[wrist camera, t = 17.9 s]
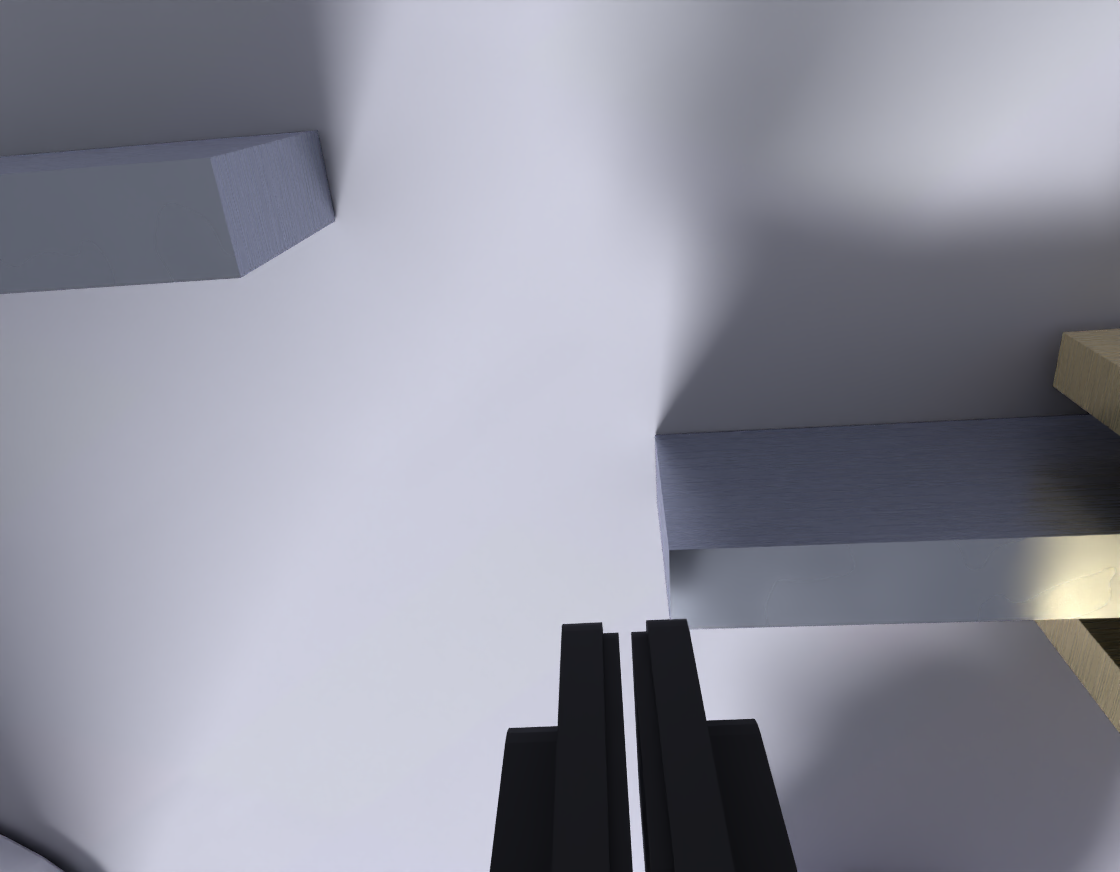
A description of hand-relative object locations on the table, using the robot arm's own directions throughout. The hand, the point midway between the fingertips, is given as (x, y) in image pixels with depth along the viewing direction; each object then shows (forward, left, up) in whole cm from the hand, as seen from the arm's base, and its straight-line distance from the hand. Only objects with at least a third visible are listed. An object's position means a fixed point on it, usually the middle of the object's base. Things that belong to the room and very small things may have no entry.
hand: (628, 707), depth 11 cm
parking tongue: (+6, +8, -6) cm, 12 cm away
